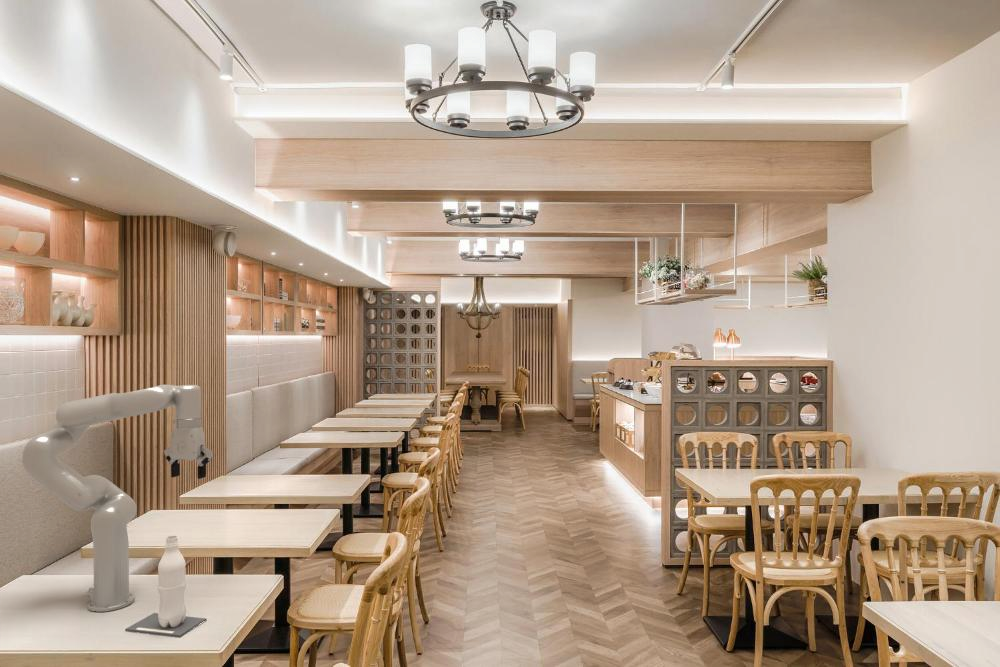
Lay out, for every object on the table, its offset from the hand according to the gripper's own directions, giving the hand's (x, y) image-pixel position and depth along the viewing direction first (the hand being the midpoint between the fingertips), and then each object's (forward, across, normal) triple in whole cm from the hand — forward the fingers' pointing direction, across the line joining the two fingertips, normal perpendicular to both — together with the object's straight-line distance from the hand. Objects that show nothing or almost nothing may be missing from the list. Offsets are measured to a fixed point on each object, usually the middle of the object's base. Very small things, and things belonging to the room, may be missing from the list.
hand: (188, 477), depth 210 cm
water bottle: (+38, +10, -19) cm, 44 cm away
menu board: (+38, +8, -20) cm, 44 cm away
